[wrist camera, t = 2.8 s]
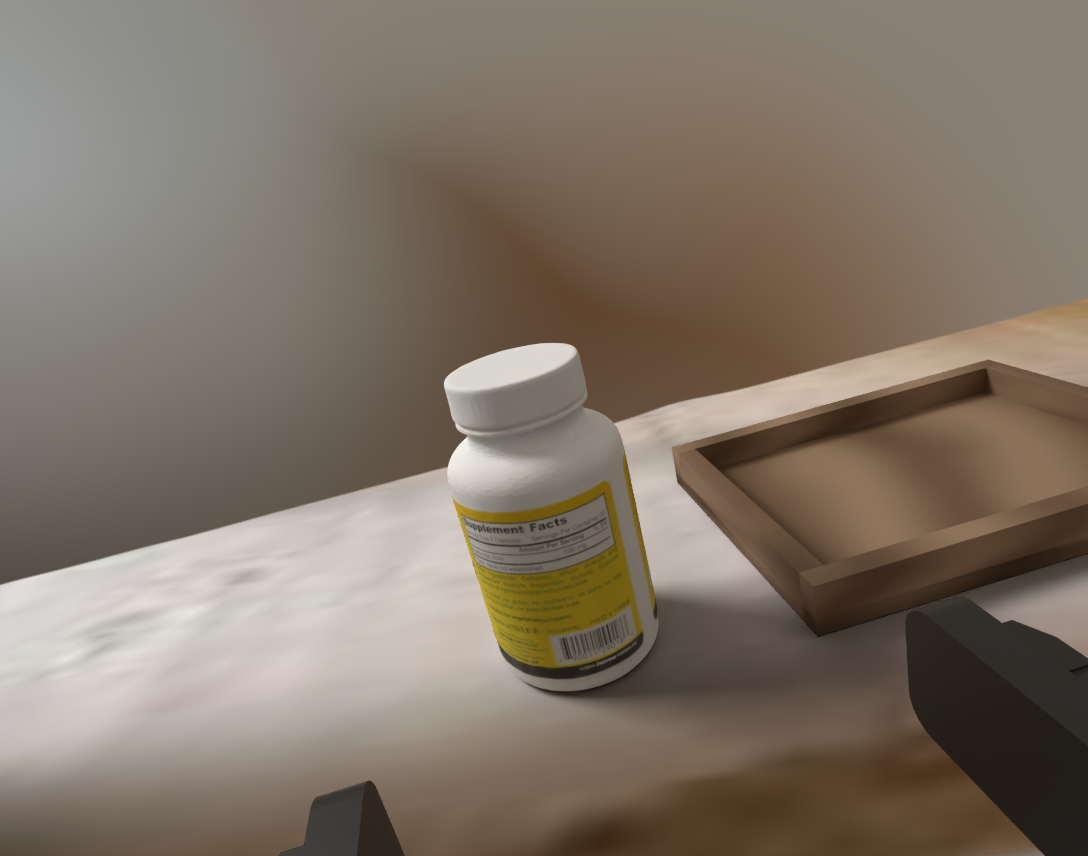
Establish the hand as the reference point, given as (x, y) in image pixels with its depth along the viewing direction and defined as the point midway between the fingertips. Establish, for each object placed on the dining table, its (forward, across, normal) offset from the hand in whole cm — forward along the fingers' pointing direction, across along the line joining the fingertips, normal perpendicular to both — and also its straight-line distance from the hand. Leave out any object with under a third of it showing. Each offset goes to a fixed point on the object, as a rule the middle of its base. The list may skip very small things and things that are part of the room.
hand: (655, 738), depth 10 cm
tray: (+14, -15, +7) cm, 22 cm away
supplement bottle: (+12, 0, +7) cm, 13 cm away
